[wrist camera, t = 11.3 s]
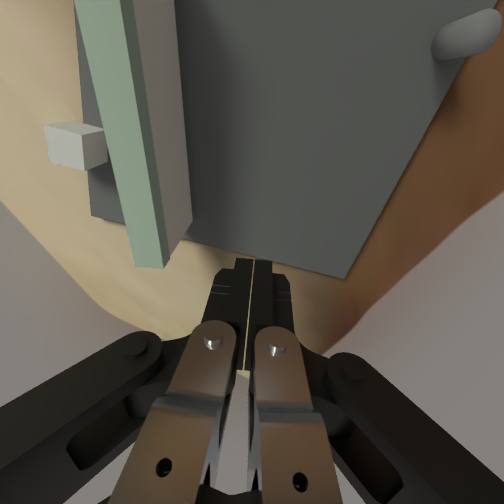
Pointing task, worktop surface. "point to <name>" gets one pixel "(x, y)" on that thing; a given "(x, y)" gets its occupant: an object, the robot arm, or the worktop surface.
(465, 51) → the gate frame
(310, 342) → the worktop surface
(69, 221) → the worktop surface
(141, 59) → the gate
